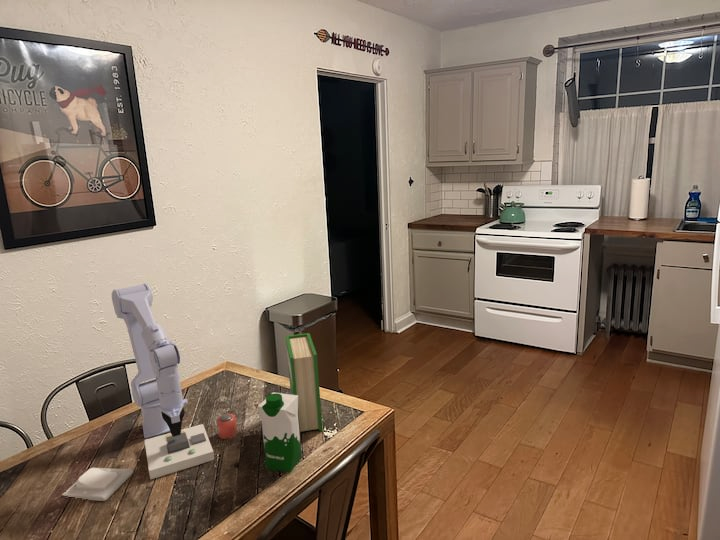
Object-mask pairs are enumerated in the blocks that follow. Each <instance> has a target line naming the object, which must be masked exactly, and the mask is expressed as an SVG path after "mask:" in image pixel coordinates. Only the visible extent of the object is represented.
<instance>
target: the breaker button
mask: <svg viewBox="0 0 720 540" xmlns="http://www.w3.org/2000/svg"><path fill="white" fill-rule="evenodd" d="M166 438H167V445H168V449H169V451H168V454H170V453H173V452H177V451H180V450H184V449H187V448H189V445H188V439H187V436H186V433H185V432H184V433H181V435H178V436H174V437H173V436H169V437H166Z"/></svg>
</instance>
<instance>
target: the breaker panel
mask: <svg viewBox="0 0 720 540" xmlns="http://www.w3.org/2000/svg"><path fill="white" fill-rule="evenodd" d="M184 432H185V433H186V436H187V439H188V445H189V448H187V449H184V450H180V451H177V452H173V453H170V454H169V449H168V445H167V438H166V437H169V436H172V434H171V432H167V433H166V434H165V433H163V434H160V435H156V436H152V437H149V438H145V439H144V445H145V446H144V447H145V452H146V460H147V466H148V467H147V468H148V474H149V479H150V480H154V479H156V478H159V477H164V476H166V475H170V474H173V473H176V472H180V471H183V470H186V469H189V468H192V467H195V466H198V465H201V464H204V463H208V462H211V461H214V460H215V454H214V449H213V447H212V444H211V442H210V439H209V436H208V434H207V433H208V432H207V431H206V429H205V426H204V424H203V423H201V424H198V425H194V426H193V425H192V426H191V427H187V428H184V429H181V433H184Z"/></svg>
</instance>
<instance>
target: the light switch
mask: <svg viewBox="0 0 720 540" xmlns="http://www.w3.org/2000/svg"><path fill="white" fill-rule="evenodd" d="M133 474H134V470H132V469H131V468H109V467H106V468H105V467H91V468H89V469H87V470H86V471H85V472H84V473H83V474H82V475H80V476H79V477H78V479H77V481H75V483H73V484H72V485H71V486H70V487H69V488H68V489H67V490H65V491H66V492H65V491H64V492H63V493H62V494H61V495H64V496H68V497H75V498H74V499H77V498H82V499H81V500H86V499H88V501H98V502H99V501H100V502H105V501H107V500H108V499H109V498H110V497H111V496H112V495H113V494H114V493H115V492H116V491H117V490H118V489H119V488H120V487H121V486H122V485H123V484H124V483H125V482H126V481H127V480H128V479H129V478H130V477H131V476H132V475H133ZM68 497H67V498H68Z"/></svg>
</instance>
